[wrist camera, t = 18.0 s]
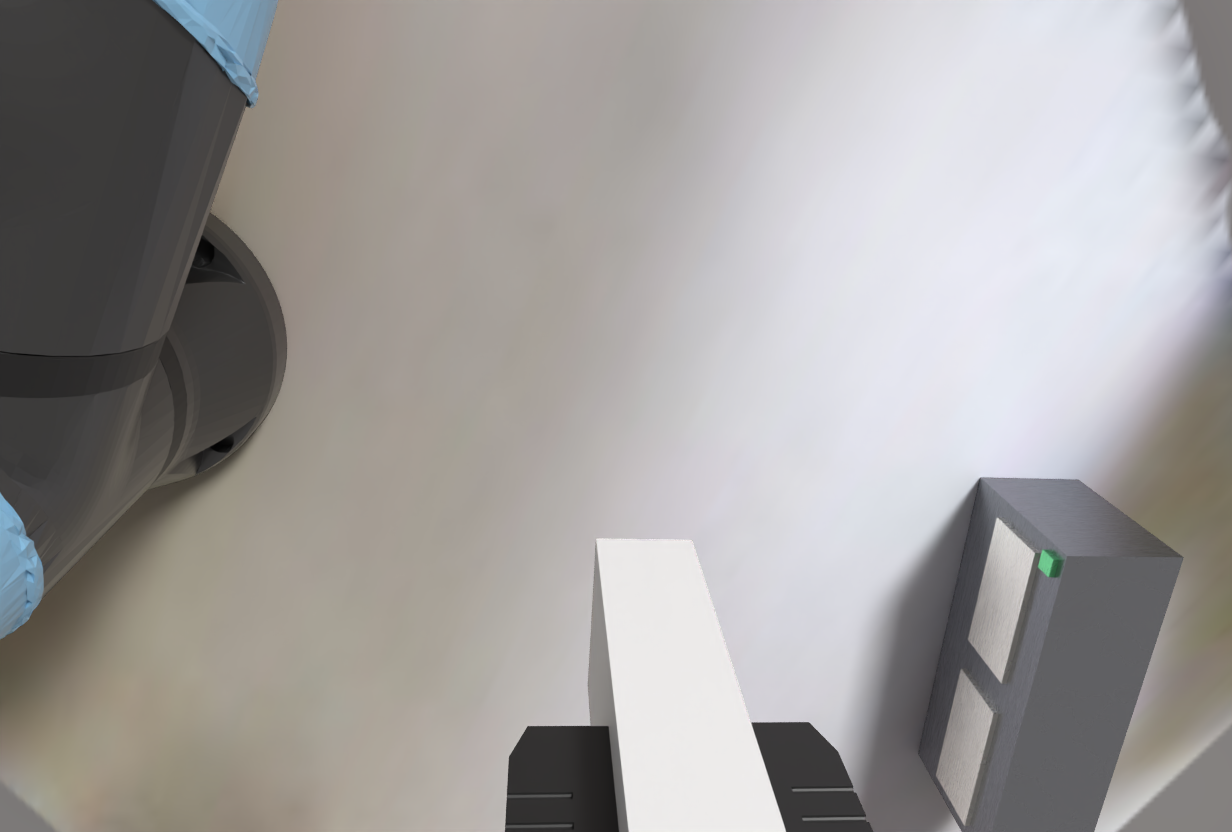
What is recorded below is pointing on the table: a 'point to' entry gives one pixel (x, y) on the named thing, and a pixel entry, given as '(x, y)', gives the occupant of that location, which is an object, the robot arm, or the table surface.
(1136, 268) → the table surface
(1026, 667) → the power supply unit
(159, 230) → the robot arm
